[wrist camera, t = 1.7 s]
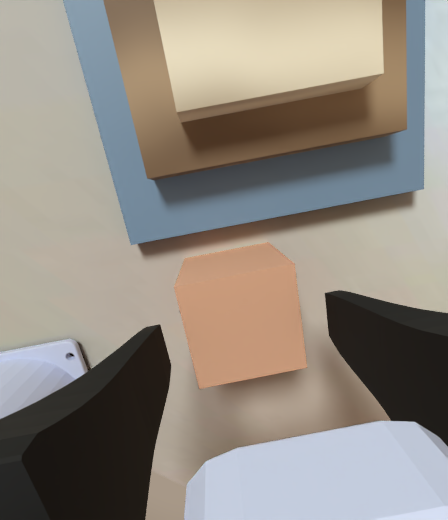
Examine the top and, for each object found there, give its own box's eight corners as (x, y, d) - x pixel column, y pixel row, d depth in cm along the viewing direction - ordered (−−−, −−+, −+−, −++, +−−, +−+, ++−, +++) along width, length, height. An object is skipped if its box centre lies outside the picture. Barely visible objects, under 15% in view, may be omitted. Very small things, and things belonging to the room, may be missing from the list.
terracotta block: (279, 317, 17) (307, 367, 12) (202, 332, 17) (199, 388, 12) (267, 241, 16) (294, 263, 11) (185, 257, 16) (174, 287, 11)
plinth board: (410, 189, 15) (478, 187, 11) (136, 241, 15) (110, 258, 11) (407, -264, 11) (520, -524, 7) (17, -193, 11) (-93, -416, 7)
